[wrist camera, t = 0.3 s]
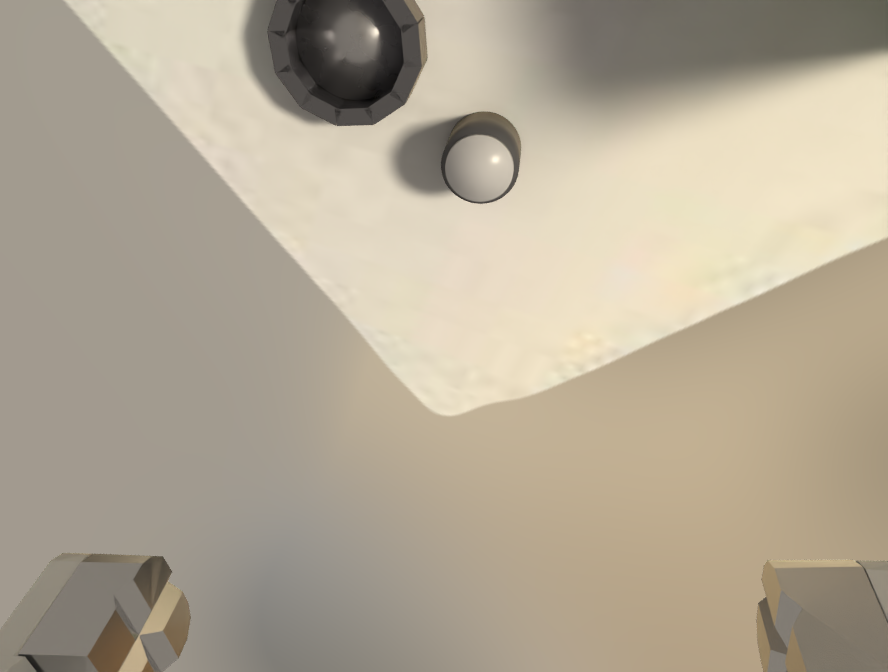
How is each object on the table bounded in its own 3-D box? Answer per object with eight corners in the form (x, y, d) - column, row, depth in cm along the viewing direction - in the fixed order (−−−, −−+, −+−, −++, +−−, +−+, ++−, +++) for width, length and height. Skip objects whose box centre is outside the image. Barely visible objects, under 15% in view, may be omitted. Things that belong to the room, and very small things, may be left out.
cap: (445, 112, 52) (437, 131, 49) (520, 110, 52) (518, 129, 48) (450, 183, 55) (442, 206, 52) (521, 182, 55) (518, 205, 51)
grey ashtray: (268, -37, 48) (255, -33, 46) (419, -47, 47) (412, -43, 45) (296, 116, 54) (285, 127, 52) (431, 112, 52) (426, 123, 50)
